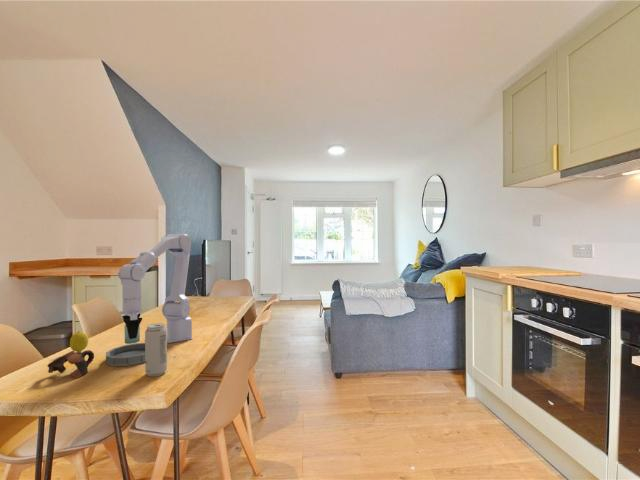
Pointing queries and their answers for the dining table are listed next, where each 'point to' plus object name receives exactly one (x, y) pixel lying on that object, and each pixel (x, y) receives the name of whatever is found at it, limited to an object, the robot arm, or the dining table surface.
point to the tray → (126, 355)
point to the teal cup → (134, 340)
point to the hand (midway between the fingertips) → (132, 336)
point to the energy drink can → (155, 350)
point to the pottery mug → (72, 359)
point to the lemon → (79, 341)
